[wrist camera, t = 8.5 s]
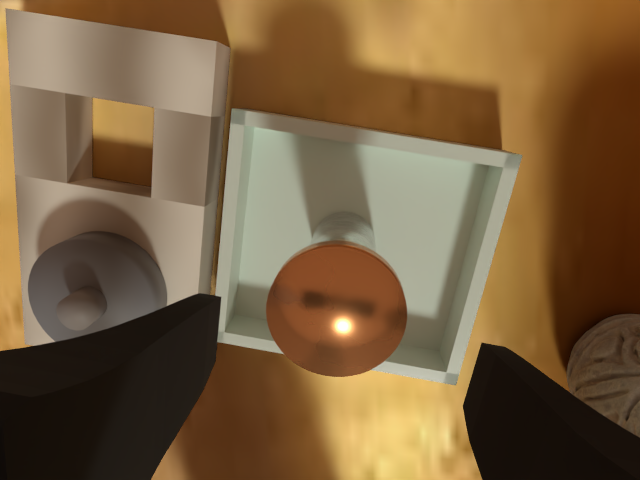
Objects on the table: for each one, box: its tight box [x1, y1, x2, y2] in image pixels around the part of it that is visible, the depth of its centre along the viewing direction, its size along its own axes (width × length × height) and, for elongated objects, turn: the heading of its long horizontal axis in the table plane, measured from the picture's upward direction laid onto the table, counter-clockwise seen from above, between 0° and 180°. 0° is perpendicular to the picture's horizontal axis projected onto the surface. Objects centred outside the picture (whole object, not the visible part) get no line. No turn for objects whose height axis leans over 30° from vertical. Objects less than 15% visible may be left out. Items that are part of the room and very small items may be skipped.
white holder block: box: [6, 9, 231, 346], centre depth 20 cm, size 9×16×5 cm, turn 171°
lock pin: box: [266, 211, 407, 377], centre depth 17 cm, size 4×4×8 cm
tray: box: [215, 108, 522, 385], centre depth 20 cm, size 12×11×2 cm
